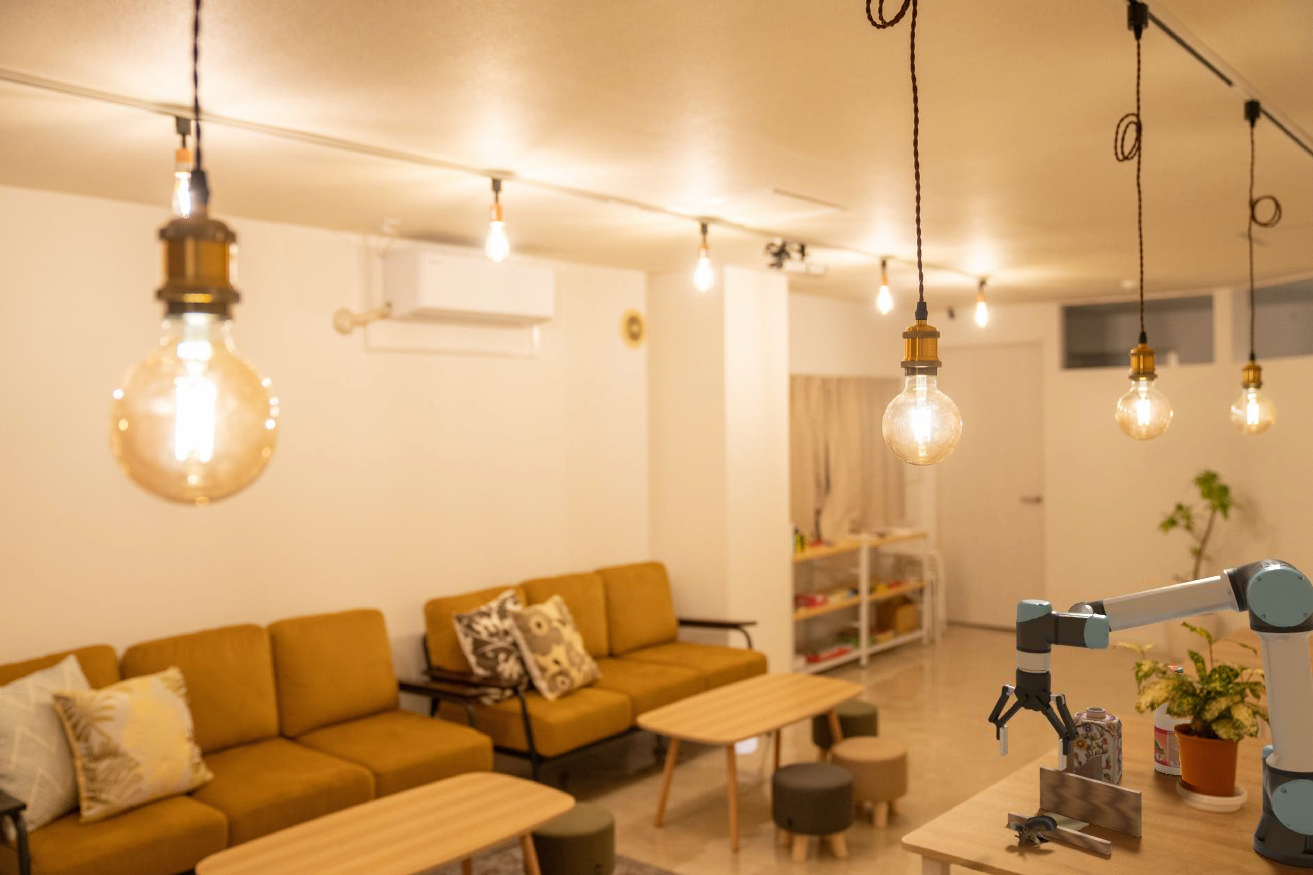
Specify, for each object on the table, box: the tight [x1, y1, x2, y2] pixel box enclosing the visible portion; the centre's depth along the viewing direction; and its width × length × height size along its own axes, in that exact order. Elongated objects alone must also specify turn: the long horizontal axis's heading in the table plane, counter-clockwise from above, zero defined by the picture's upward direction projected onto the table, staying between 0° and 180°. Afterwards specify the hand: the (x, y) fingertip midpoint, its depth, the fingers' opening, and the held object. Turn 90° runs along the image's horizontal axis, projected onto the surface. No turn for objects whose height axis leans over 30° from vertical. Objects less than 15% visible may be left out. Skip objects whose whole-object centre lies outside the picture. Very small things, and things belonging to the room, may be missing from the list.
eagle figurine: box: [1009, 814, 1058, 848], centre depth 230 cm, size 8×7×9 cm
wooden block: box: [1058, 735, 1102, 781], centre depth 251 cm, size 4×11×18 cm, turn 32°
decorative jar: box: [1072, 706, 1123, 785], centre depth 273 cm, size 12×12×18 cm
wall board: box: [1007, 765, 1143, 856], centre depth 237 cm, size 24×16×10 cm, turn 40°
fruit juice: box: [1153, 665, 1190, 775], centre depth 276 cm, size 9×9×28 cm
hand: (1032, 761), depth 233 cm, fingers open, 13 cm apart
